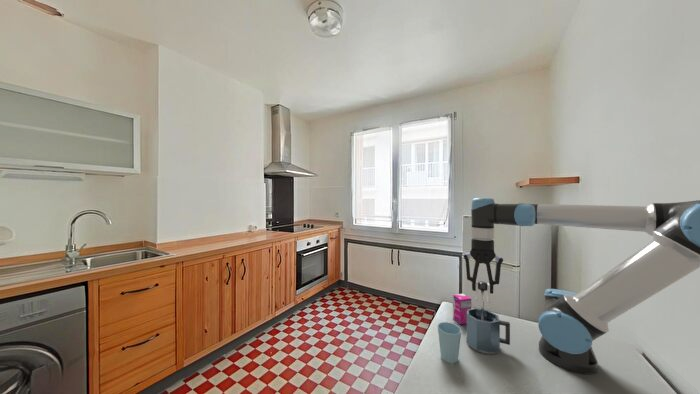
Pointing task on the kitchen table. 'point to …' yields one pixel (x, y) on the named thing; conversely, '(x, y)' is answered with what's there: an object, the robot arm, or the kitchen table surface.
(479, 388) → the kitchen table surface
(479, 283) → the plunger
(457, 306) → the supplement box
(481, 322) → the press carafe
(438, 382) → the kitchen table surface
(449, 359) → the cup
